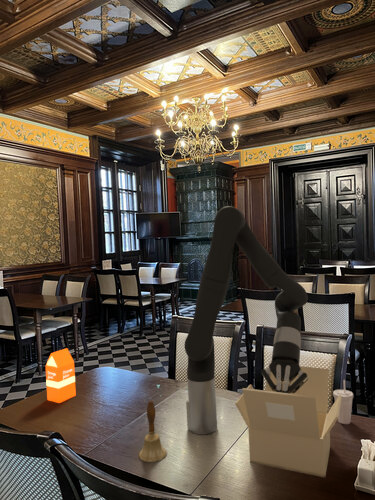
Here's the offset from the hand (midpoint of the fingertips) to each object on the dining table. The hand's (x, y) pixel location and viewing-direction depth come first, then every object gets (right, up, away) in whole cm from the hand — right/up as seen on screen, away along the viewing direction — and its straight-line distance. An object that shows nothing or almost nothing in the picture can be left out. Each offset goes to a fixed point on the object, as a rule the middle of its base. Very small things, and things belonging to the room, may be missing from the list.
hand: (281, 406), depth 99 cm
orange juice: (-78, -22, +62) cm, 102 cm away
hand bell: (-35, -20, +14) cm, 43 cm away
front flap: (0, -2, +1) cm, 2 cm away
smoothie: (+28, -17, +29) cm, 44 cm away
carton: (+8, -18, +16) cm, 25 cm away
